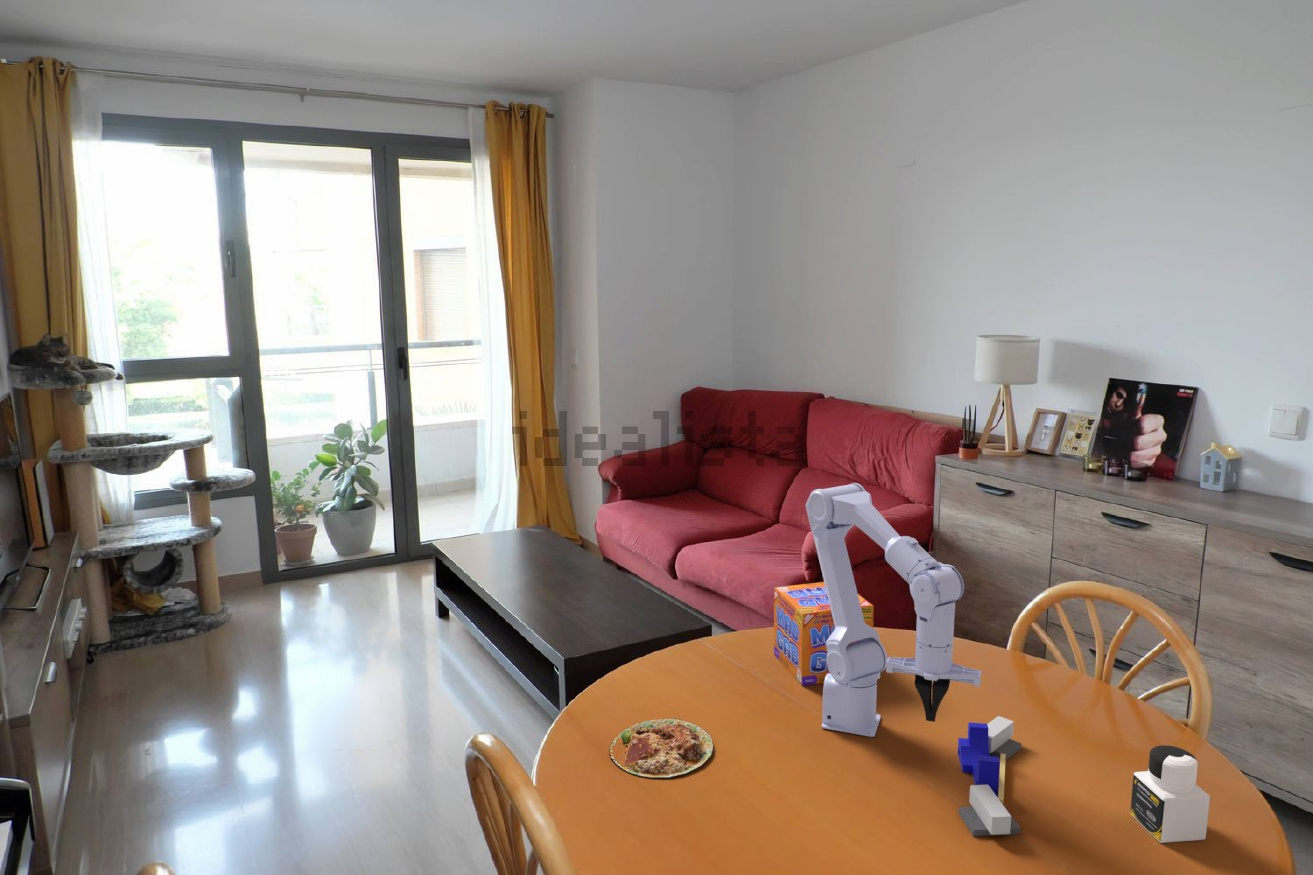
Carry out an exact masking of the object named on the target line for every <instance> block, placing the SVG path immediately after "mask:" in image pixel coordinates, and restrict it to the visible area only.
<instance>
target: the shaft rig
mask: <svg viewBox="0 0 1313 875" xmlns="http://www.w3.org/2000/svg"><path fill="white" fill-rule="evenodd" d="M986 724H987V725H988V743H989V756H993V757H998V758H999V761H1000V768H999V786H998V796H996V795H995V793H994V792H993V791H992V789H991V788H990V786H989V785H975V784H973V785H972V784H971V785H970V786H969V801H968V802H969V804H970V805H971V806H959V807H958V814H959V816H960V818H961V819H962V822H963V823H964V824H965V826H966V827H967V829H968V830H969V832H970V834H971V835H972V836H973V837H984V836H985V837H986V836H989V837H990V836H1006V835H1007V836H1009V835H1010V836H1011V835H1012V836H1013V835H1021V826H1020V825H1019V824H1018V822H1017V821H1016V820H1015V818H1014V817H1013V816H1012V814H1011V812H1010V811H1009V810H1008V809H1007V807H1006V806H1005V804H1004V799H1005V781H1006V780H1005V779H1006V778H1005V777H1006V762H1007V761H1008V760H1009V759H1011V758H1012V757H1013V756H1014V755H1015V754H1017V753H1018V752H1019V751H1020V750H1022V743H1021V742H1019V741H1016V740H1013V739H1012V738H1013V737H1014V727H1015V726H1014V724H1015V721H1014V720H1011V719H1008V718H1005V717H1002V716H1000V715H997V716H996V717H995V718H994V719H992V720H991V721H989V722H988V723H986ZM1016 752H1017V753H1016Z"/></svg>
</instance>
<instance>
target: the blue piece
mask: <svg viewBox="0 0 1313 875" xmlns="http://www.w3.org/2000/svg"><path fill="white" fill-rule="evenodd" d="M987 724H988V723H982V722H968V723H967V738H965V737H963V738H962V737H958V740H957V757H958V760H959V763H960V768H961V771H962V773H969V774H972V778H973V782H974V785H989V786H990V788H991V789H992V791H993V792H994V793H995V795H996V796H997V797H998V791H999V772H1000V759H999V758H998V757H995V756H992V755H990V754H989V743H988V725H987Z"/></svg>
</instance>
